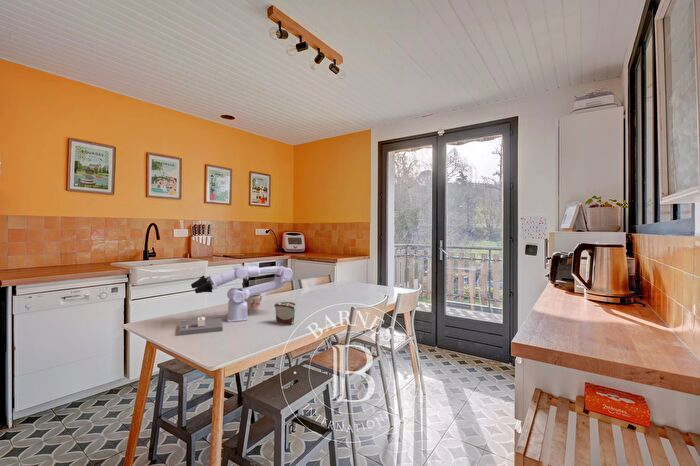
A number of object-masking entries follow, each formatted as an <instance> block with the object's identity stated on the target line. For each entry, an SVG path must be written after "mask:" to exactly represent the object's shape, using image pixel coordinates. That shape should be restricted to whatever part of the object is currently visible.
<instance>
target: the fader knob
mask: <svg viewBox="0 0 700 466" xmlns="http://www.w3.org/2000/svg"><path fill="white" fill-rule="evenodd" d="M197 319H198V327H200V326H205V319H206V317H205V316H202V315H201V316H200V317H197Z"/></svg>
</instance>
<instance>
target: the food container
mask: <svg viewBox="0 0 700 466" xmlns="http://www.w3.org/2000/svg"><path fill="white" fill-rule="evenodd" d="M273 307H274V309H275V322H276V324H280V323H282V325H286V324H288V325H287V326H291V325H292V326H293V325H294V323H295V313H296V310H297V304H296V302H292V301H279V302H278V301H277V302H274V306H273Z"/></svg>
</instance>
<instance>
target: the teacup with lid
mask: <svg viewBox="0 0 700 466" xmlns="http://www.w3.org/2000/svg"><path fill="white" fill-rule="evenodd" d="M262 299H263V295H262V294H257V295H253V296H250V297H248V298H247V299H245V300H244V302H247V311H257V310H260V308H261V302H262V301H263V300H262Z"/></svg>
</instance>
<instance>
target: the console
mask: <svg viewBox="0 0 700 466" xmlns="http://www.w3.org/2000/svg"><path fill="white" fill-rule="evenodd" d="M222 320H223V319H222V317H212V318H211V317H209V318H205V326H200V327H198V318H197V319H191V320H190V319H188V320H181V321H180V325H179V329H178V336H188V335H198V334H207V333H216V332H223V328H224V325H223V321H222Z"/></svg>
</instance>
